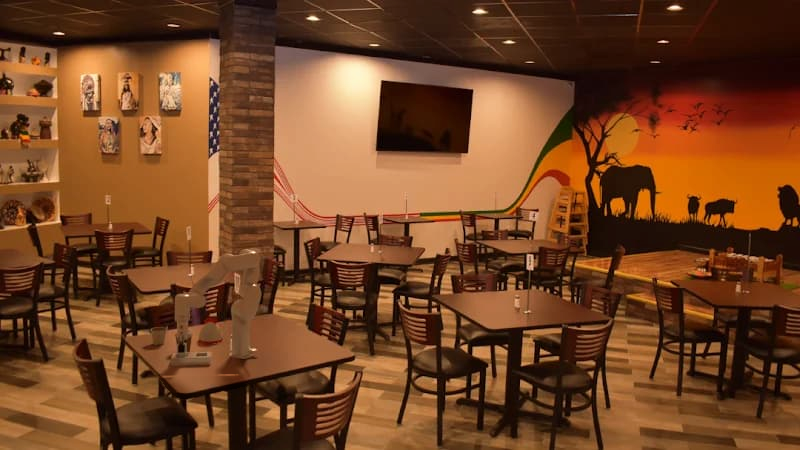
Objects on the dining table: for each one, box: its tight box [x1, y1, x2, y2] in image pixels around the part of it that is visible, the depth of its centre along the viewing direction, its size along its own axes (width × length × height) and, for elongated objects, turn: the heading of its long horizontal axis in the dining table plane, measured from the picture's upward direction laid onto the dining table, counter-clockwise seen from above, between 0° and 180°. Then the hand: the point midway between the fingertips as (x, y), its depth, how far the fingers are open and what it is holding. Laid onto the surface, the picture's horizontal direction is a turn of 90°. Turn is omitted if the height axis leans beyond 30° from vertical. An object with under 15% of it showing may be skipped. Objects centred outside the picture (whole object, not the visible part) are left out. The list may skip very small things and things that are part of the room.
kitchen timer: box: [198, 315, 224, 345], centre depth 405 cm, size 14×14×15 cm
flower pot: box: [149, 326, 168, 346], centre depth 396 cm, size 9×9×9 cm
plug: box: [176, 343, 187, 357], centre depth 360 cm, size 5×4×10 cm
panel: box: [170, 351, 213, 367], centre depth 362 cm, size 20×10×5 cm, turn 102°
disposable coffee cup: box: [174, 330, 193, 352], centre depth 379 cm, size 10×10×12 cm
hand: (182, 349), depth 360 cm, fingers open, 7 cm apart
